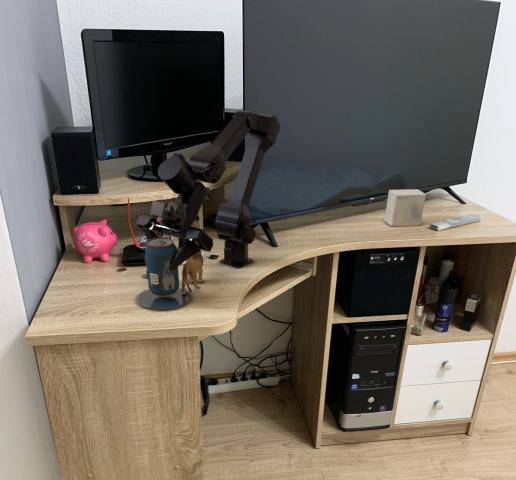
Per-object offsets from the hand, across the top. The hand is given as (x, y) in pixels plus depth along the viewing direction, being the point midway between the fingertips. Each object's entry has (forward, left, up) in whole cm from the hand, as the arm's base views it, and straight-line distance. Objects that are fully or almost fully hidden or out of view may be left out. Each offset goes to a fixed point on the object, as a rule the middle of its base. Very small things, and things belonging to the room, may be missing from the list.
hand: (158, 266), depth 120 cm
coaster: (-1, 0, -8) cm, 8 cm away
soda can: (-1, 0, -7) cm, 7 cm away
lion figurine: (-10, 0, -8) cm, 13 cm away
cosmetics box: (-93, +18, -9) cm, 95 cm away
